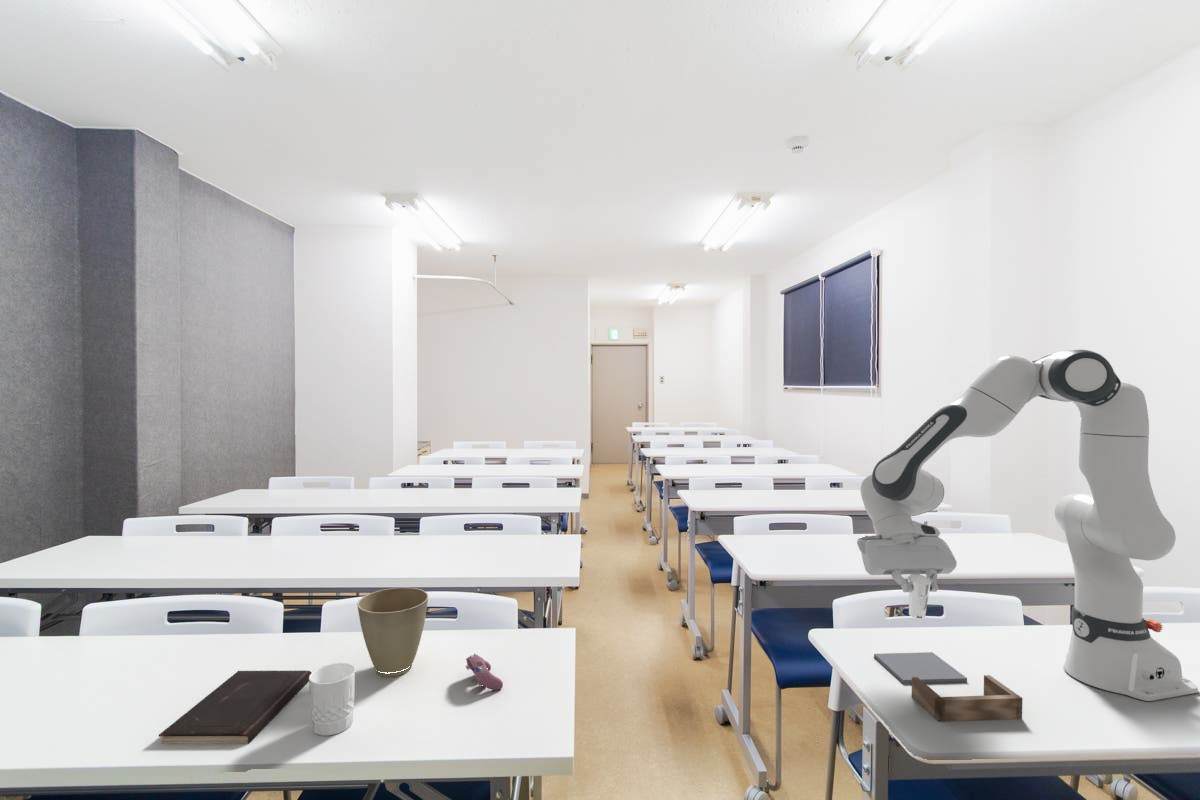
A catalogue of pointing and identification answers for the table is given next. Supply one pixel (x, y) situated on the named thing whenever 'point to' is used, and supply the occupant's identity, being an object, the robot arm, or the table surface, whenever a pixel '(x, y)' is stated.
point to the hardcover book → (237, 708)
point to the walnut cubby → (970, 702)
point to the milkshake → (919, 595)
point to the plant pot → (393, 627)
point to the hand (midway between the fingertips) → (921, 591)
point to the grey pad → (919, 667)
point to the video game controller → (483, 673)
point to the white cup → (332, 698)
